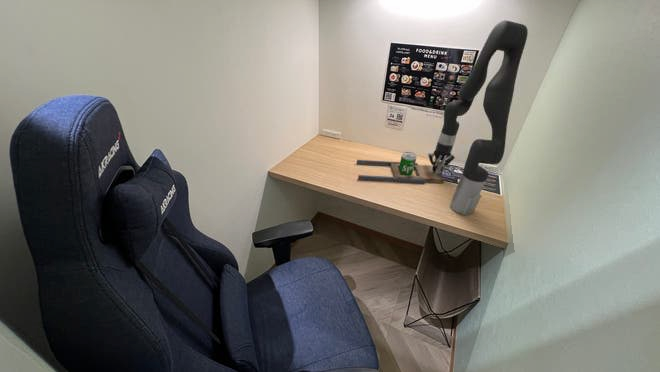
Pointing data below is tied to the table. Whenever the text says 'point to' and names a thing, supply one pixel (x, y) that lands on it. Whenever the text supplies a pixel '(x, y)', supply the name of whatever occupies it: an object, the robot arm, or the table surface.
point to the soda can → (407, 163)
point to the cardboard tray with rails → (421, 172)
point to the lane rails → (384, 178)
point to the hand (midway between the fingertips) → (436, 171)
